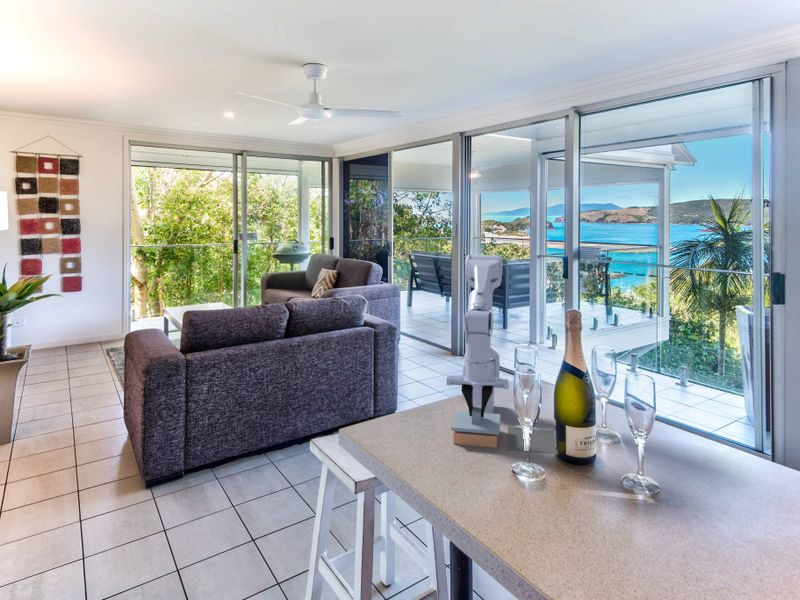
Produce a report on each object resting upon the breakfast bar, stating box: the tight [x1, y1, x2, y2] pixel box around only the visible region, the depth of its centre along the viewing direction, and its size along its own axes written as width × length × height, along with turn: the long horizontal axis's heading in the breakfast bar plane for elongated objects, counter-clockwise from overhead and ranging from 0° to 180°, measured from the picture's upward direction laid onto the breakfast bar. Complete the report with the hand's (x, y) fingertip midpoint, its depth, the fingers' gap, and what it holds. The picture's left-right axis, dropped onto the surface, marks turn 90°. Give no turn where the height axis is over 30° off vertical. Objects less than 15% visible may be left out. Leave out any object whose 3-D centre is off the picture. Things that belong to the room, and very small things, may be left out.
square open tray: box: [452, 431, 498, 449], centre depth 119 cm, size 10×10×4 cm
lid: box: [451, 405, 501, 435], centre depth 118 cm, size 11×11×4 cm
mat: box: [507, 426, 559, 455], centre depth 118 cm, size 13×11×1 cm
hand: (476, 415), depth 118 cm, fingers closed on lid, 2 cm apart
